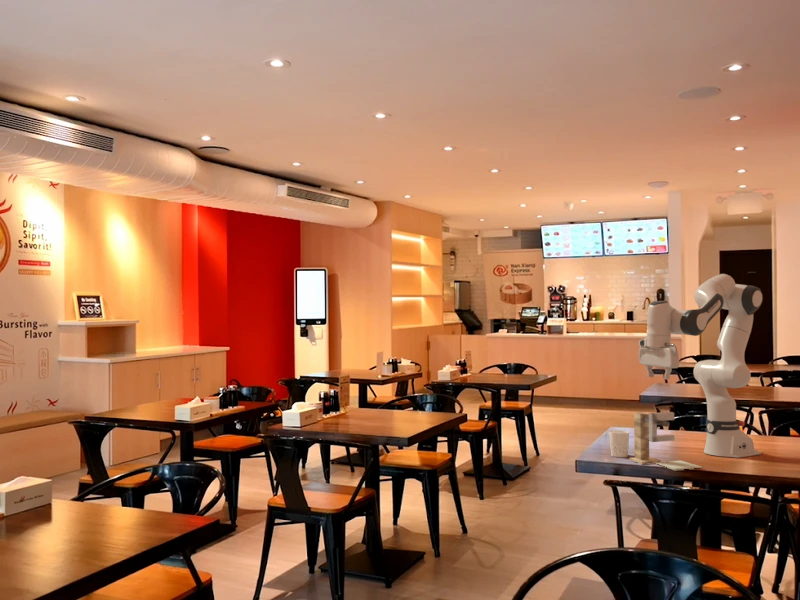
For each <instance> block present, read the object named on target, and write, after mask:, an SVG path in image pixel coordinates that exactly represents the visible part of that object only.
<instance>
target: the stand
mask: <svg viewBox="0 0 800 600" xmlns="http://www.w3.org/2000/svg"><path fill="white" fill-rule="evenodd" d="M633 415H634V416H633V419H634V420H633V423H634V427H633V428H634V433H633V435H634V436H633V437H634V457H629V459H628V460H632V461H635V462H638V463H640V464H639V465H641V464H642V465H646V464H645V463H656V462H662V460H661V459H658V458H654V457H651V456H650V441H649V413H647V412H634V413H633ZM657 426H662V427H666V428H667V427H670V422H669V421H667V420H665V421H657ZM632 461H631V462H632ZM635 462H634V463H635ZM638 463H637V464H638Z"/></svg>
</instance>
